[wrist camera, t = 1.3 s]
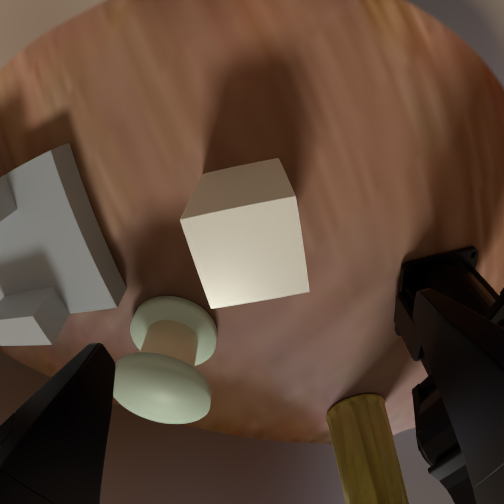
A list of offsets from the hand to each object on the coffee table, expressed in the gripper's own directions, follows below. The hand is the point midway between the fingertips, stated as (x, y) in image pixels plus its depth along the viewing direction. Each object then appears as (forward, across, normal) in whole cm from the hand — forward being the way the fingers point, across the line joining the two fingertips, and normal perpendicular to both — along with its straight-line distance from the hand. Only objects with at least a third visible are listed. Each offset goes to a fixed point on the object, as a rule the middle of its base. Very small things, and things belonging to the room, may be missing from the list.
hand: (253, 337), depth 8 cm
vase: (+10, -6, +23) cm, 26 cm away
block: (+10, 0, 0) cm, 10 cm away
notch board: (+10, +16, -1) cm, 19 cm away
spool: (+10, +7, +8) cm, 15 cm away
